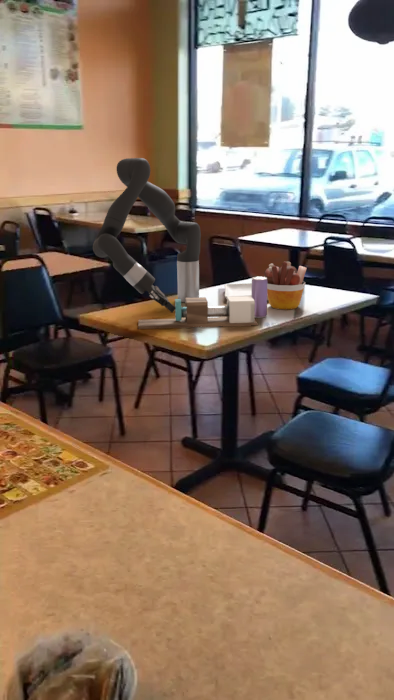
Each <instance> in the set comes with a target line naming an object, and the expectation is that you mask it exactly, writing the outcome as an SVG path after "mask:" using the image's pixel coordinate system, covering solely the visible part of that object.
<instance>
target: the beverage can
mask: <svg viewBox="0 0 394 700" xmlns="http://www.w3.org/2000/svg"><path fill="white" fill-rule="evenodd" d="M251 283H252V296H251V297H252V298H253V299H254V301H255V315H254V319H255V318H256V319H264V318H266V317H267V316H268V302H267V284H268V281H267V277H265V276H253V277H252V278H251Z"/></svg>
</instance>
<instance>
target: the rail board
mask: <svg viewBox="0 0 394 700" xmlns="http://www.w3.org/2000/svg"><path fill="white" fill-rule="evenodd" d="M184 303H185V307H187V318H181V321H176V319H175V318H154V319H153V318H152V319H151V318H150V319H149V318H148V319H147V318H146V319H145V318H144V319H138V330H149V329H182V328H183V329H184V328H186V329H187V328H216V327H217V328H218V326H223V327H246V326H247V327H249V326H251V325H257V326H258V322H257V320H256V319H255V318H254V322H253V323H229V319H227V317H208V306H209V305H208V304H209V302H208V300H207V297H205V296H204V297H203V296H202V297H200V296H199V298H185V302H184ZM251 327H252V326H251Z"/></svg>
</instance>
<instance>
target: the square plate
mask: <svg viewBox="0 0 394 700" xmlns="http://www.w3.org/2000/svg"><path fill="white" fill-rule="evenodd" d="M236 296H252V282H251V283H230V284H229V283H228V284H227V283H226V284H224V297H225V299H226V300H227V297H236ZM267 303H269V300H268V295H267Z"/></svg>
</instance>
